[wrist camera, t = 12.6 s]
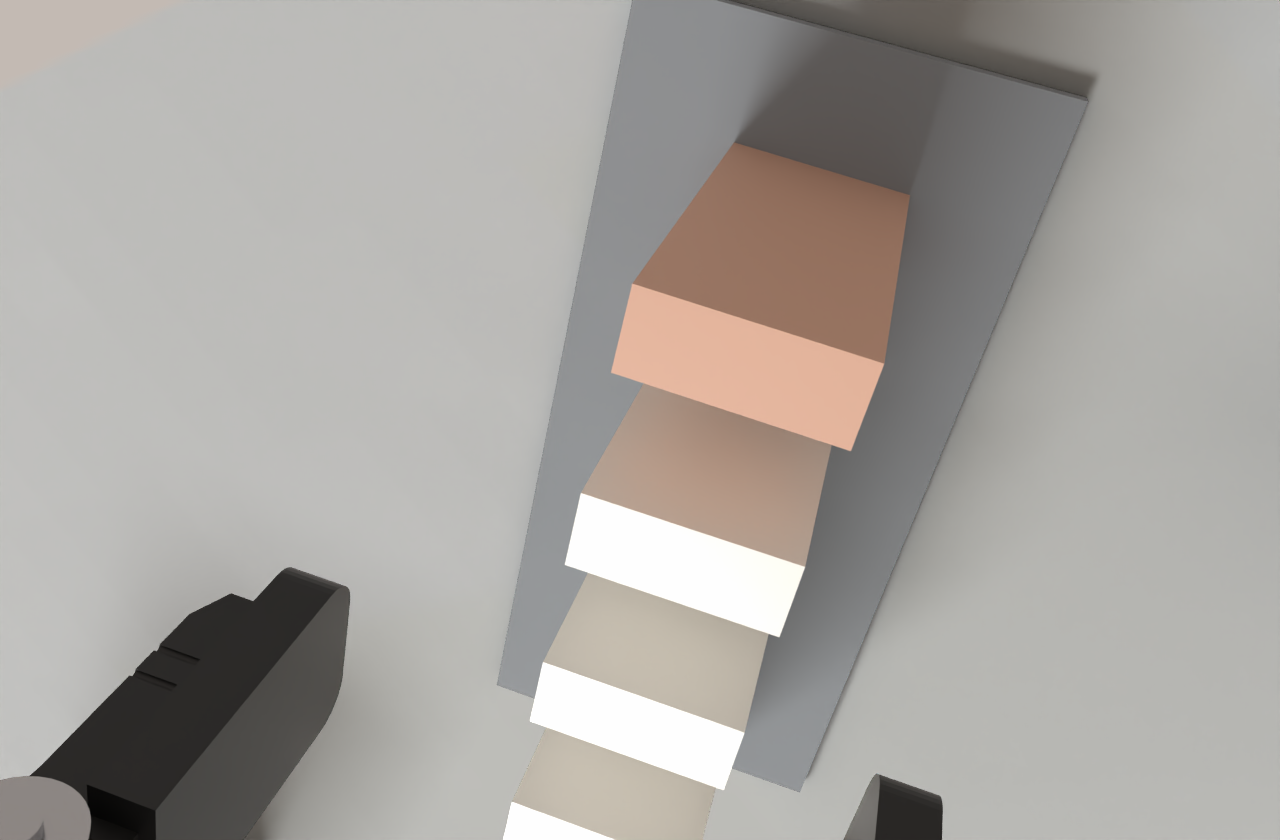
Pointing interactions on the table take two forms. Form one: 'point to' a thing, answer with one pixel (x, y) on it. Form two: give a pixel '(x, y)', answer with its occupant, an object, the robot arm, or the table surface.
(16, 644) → the table surface
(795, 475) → the ivory tile
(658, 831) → the ivory tile
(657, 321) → the terracotta tile
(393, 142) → the table surface
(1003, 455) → the table surface
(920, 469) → the slate mat
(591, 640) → the ivory tile
